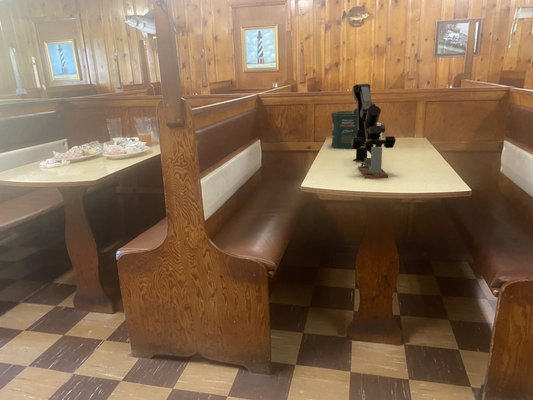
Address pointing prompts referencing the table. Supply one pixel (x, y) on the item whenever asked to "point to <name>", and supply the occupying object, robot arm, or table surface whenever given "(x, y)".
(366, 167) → the hole plate
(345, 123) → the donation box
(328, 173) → the table surface
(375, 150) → the block
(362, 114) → the robot arm
